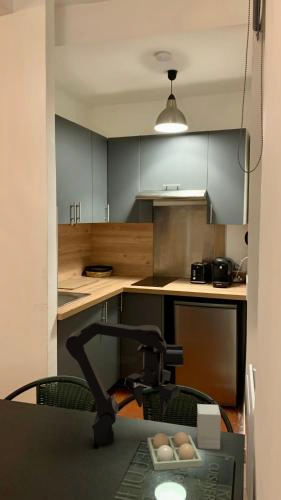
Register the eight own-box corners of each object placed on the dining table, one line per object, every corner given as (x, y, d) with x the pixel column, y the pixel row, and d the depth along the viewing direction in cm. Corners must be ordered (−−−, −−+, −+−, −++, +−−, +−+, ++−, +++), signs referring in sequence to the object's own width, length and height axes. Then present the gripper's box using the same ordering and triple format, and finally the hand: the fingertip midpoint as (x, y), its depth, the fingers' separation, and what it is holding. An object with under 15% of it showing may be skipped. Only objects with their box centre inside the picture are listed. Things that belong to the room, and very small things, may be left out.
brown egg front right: (180, 465, 121) (180, 449, 121) (176, 456, 126) (177, 440, 126) (196, 464, 122) (196, 448, 121) (192, 454, 127) (192, 439, 126)
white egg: (158, 467, 120) (158, 451, 120) (155, 457, 125) (156, 441, 125) (174, 466, 121) (175, 450, 120) (171, 456, 126) (171, 441, 125)
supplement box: (218, 440, 137) (218, 404, 136) (220, 452, 130) (221, 414, 129) (196, 438, 138) (197, 403, 137) (197, 451, 131) (198, 413, 130)
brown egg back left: (154, 454, 127) (154, 439, 127) (152, 445, 132) (152, 430, 132) (170, 453, 128) (170, 437, 127) (166, 444, 133) (167, 429, 132)
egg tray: (154, 473, 119) (154, 463, 119) (147, 446, 133) (147, 437, 133) (201, 469, 121) (202, 460, 120) (189, 443, 135) (189, 435, 135)
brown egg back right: (175, 452, 128) (175, 437, 127) (172, 444, 133) (172, 429, 132) (190, 451, 128) (191, 436, 128) (187, 443, 133) (187, 428, 133)
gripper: (189, 364, 132) (188, 410, 133) (143, 352, 144) (143, 395, 145) (170, 374, 123) (169, 423, 125) (124, 361, 135) (123, 406, 136)
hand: (151, 410), depth 133 cm, fingers open, 9 cm apart
